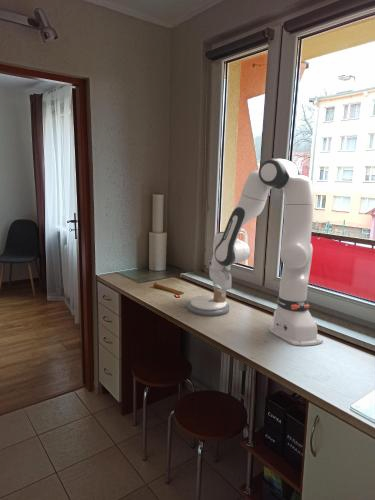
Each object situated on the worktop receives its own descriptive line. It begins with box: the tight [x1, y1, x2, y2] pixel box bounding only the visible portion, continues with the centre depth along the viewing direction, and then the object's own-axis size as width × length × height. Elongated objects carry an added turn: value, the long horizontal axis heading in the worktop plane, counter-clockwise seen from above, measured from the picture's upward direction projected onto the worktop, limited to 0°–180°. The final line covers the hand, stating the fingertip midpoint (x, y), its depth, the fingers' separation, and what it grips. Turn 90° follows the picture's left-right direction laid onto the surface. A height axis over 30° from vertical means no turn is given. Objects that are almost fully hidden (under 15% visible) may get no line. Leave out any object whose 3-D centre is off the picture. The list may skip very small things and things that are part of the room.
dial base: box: [187, 300, 230, 317], centre depth 177 cm, size 20×20×2 cm
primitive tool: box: [152, 282, 185, 296], centre depth 202 cm, size 19×6×4 cm, turn 60°
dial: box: [190, 288, 227, 311], centre depth 176 cm, size 17×17×6 cm
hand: (219, 292), depth 177 cm, fingers open, 8 cm apart
